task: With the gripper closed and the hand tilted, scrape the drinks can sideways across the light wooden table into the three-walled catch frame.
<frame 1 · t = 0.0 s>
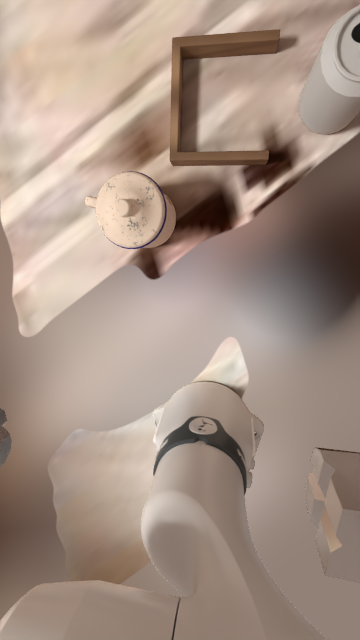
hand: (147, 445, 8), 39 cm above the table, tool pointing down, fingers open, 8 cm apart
catch frame: (225, 108, 39), on the table
can: (326, 105, 38), on the table
teacup with lid: (140, 216, 45), on the table
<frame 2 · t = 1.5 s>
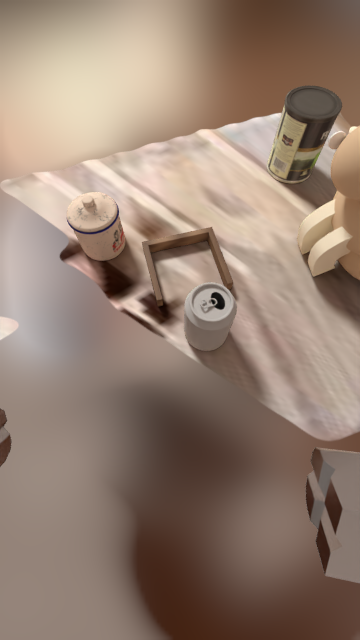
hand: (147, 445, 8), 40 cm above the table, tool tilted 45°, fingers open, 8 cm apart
catch frame: (186, 271, 56), on the table
can: (205, 332, 51), on the table
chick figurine: (357, 260, 57), on the table
coffee can: (288, 168, 67), on the table
teacup with lid: (105, 238, 60), on the table
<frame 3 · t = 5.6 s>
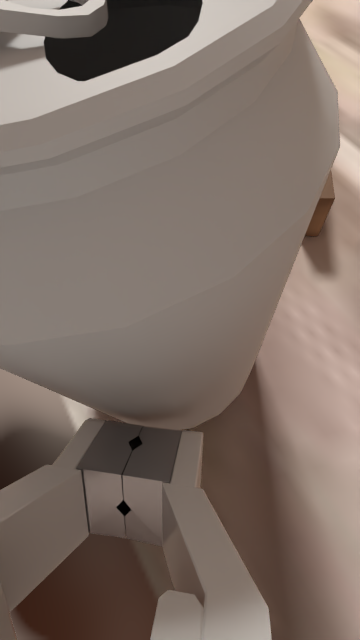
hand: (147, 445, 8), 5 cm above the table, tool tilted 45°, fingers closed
catch frame: (197, 162, 19), on the table
can: (171, 350, 14), on the table, touching gripper
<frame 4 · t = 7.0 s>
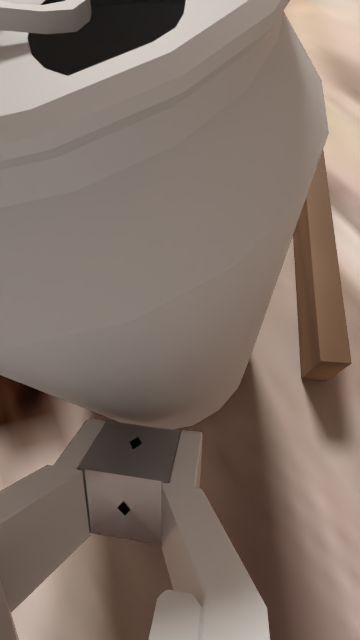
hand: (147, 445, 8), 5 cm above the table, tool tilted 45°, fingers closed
catch frame: (179, 259, 16), on the table
can: (166, 349, 14), on the table, touching gripper
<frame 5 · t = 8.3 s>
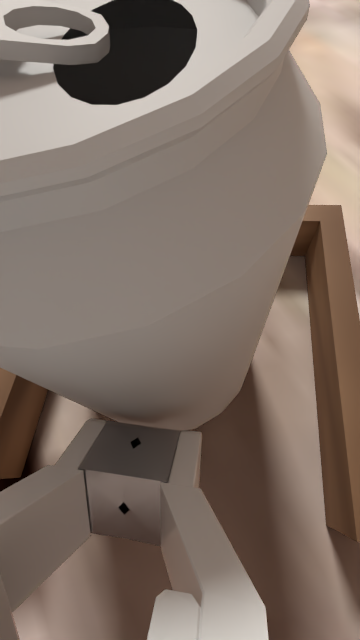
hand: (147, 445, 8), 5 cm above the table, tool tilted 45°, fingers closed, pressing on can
catch frame: (180, 352, 14), on the table
can: (169, 353, 14), on the table, touching gripper
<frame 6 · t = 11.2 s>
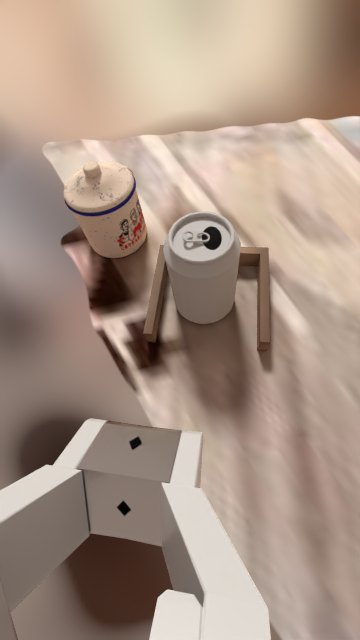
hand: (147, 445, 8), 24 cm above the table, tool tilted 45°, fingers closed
catch frame: (209, 302, 37), on the table
can: (204, 301, 37), on the table
teacup with lid: (123, 230, 45), on the table
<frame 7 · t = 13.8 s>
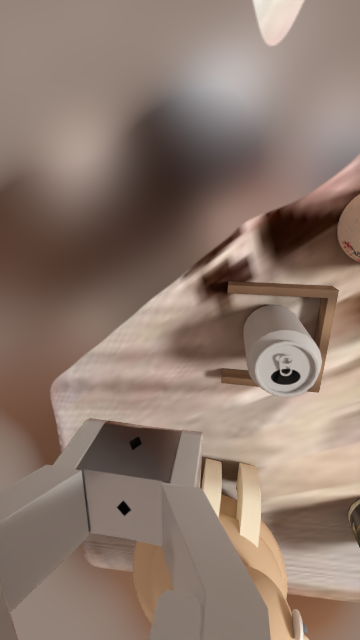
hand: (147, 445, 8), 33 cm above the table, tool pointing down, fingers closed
catch frame: (268, 333, 40), on the table
can: (270, 328, 40), on the table
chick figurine: (213, 502, 52), on the table
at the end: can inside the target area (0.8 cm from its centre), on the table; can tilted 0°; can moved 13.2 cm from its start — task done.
